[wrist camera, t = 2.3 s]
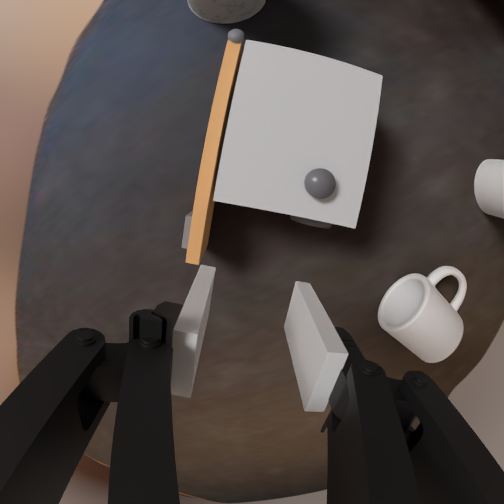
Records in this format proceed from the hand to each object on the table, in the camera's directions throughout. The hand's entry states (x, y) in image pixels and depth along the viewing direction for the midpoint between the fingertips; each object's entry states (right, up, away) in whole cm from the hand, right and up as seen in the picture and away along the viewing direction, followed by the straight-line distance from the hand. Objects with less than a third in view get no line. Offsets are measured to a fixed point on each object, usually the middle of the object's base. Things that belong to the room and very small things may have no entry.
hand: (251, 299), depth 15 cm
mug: (+23, -4, +21) cm, 31 cm away
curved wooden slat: (-4, +14, +15) cm, 21 cm away
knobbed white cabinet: (+4, +14, +16) cm, 22 cm away
